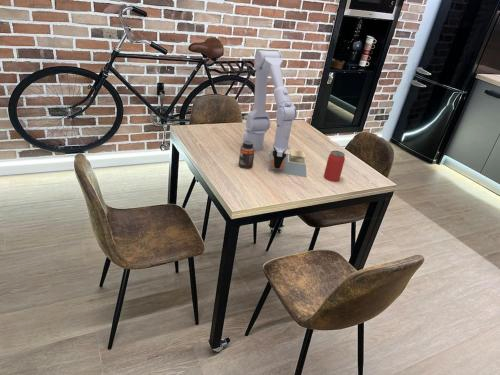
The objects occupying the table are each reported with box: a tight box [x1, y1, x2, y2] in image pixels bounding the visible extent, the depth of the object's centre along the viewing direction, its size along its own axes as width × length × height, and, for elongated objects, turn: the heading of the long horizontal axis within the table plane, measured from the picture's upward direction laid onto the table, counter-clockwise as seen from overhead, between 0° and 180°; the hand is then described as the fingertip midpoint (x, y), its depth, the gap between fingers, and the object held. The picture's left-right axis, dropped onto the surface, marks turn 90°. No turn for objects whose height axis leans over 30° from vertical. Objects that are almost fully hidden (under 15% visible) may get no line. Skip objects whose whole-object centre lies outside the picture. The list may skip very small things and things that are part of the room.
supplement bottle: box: [238, 140, 256, 170], centre depth 154 cm, size 6×6×11 cm
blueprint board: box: [267, 150, 308, 178], centre depth 164 cm, size 16×21×1 cm
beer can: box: [323, 150, 346, 183], centre depth 154 cm, size 7×7×12 cm
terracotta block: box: [270, 156, 286, 170], centre depth 158 cm, size 6×4×4 cm, turn 84°
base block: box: [289, 149, 306, 164], centre depth 167 cm, size 6×6×3 cm
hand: (277, 165), depth 158 cm, fingers closed on terracotta block, 4 cm apart
